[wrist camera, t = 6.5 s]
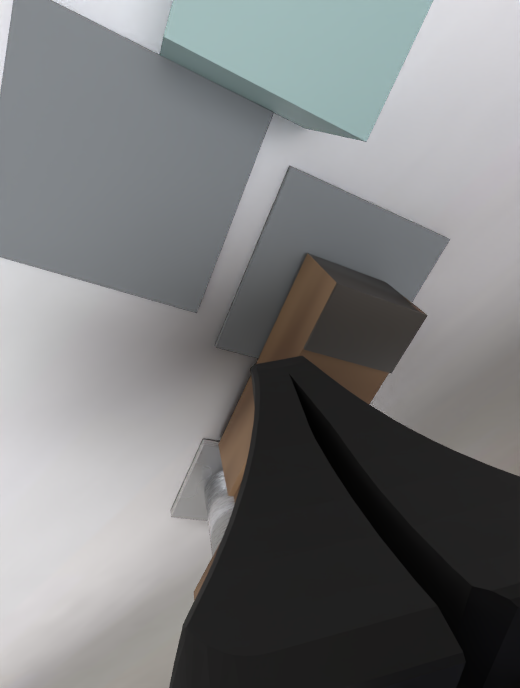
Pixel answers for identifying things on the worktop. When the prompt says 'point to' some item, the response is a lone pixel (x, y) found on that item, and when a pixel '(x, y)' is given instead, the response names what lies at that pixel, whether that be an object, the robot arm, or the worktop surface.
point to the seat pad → (117, 158)
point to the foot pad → (323, 253)
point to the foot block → (299, 54)
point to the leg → (327, 345)
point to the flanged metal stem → (206, 493)
